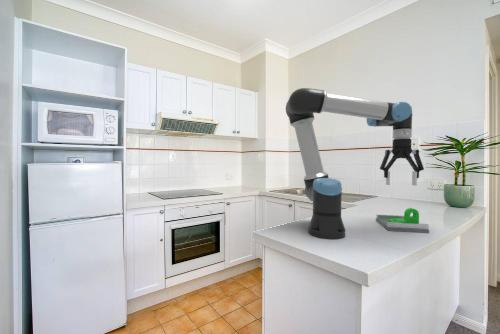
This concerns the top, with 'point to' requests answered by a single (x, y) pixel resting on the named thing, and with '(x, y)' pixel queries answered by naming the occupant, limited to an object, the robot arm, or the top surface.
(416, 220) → the mechanical part
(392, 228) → the mounting board
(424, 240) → the top surface
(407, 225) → the rail guides
